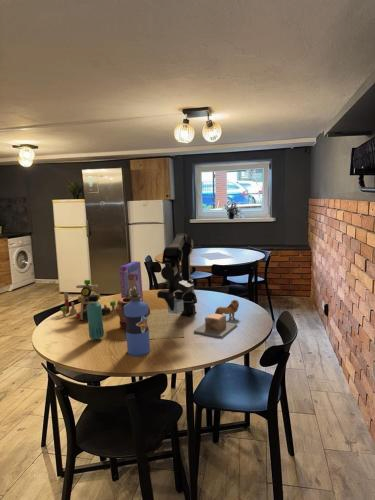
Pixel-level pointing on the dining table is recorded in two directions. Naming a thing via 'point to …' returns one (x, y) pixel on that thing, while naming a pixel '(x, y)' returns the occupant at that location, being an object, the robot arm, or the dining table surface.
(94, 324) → the teal caped figurine
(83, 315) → the toy construction set
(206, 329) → the tower base
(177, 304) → the slate-gray cube
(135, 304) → the water bottle
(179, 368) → the dining table surface
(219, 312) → the lion figurine
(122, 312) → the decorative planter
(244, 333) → the dining table surface
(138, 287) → the cereal box
